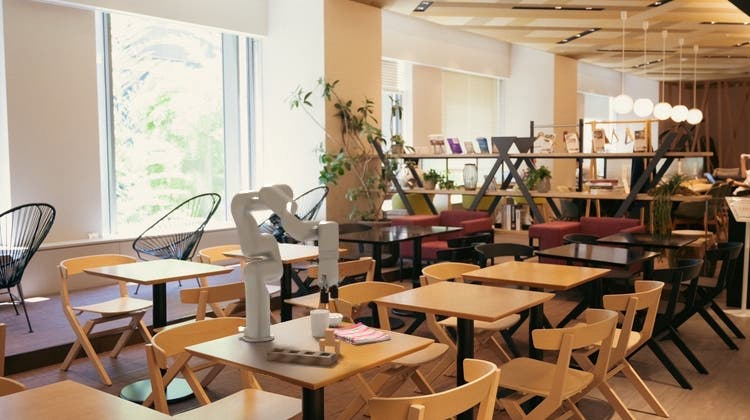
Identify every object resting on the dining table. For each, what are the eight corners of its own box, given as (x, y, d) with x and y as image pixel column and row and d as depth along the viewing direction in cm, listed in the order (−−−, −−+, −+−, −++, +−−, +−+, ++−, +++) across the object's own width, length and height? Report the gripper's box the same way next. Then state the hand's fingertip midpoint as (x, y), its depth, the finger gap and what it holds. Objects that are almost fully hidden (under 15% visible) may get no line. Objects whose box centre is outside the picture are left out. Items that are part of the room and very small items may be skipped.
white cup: (315, 338, 292) (314, 314, 291) (307, 334, 299) (307, 310, 298) (332, 336, 296) (332, 312, 295) (325, 332, 303) (324, 308, 302)
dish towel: (360, 329, 309) (360, 321, 309) (391, 340, 289) (391, 332, 289) (325, 335, 299) (325, 327, 299) (355, 347, 280) (355, 338, 280)
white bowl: (336, 330, 306) (336, 314, 306) (311, 327, 311) (311, 312, 310) (347, 325, 315) (347, 309, 315) (322, 322, 320) (322, 307, 320)
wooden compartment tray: (267, 360, 260) (267, 352, 260) (275, 355, 267) (275, 347, 266) (329, 366, 253) (329, 357, 253) (336, 360, 259) (336, 352, 259)
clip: (319, 353, 269) (318, 329, 269) (321, 351, 271) (321, 328, 271) (338, 354, 267) (337, 330, 266) (340, 353, 269) (340, 329, 269)
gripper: (327, 251, 276) (328, 296, 277) (310, 257, 260) (311, 304, 261) (346, 252, 274) (347, 297, 275) (329, 258, 257) (330, 305, 258)
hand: (329, 300), depth 268 cm, fingers open, 9 cm apart
